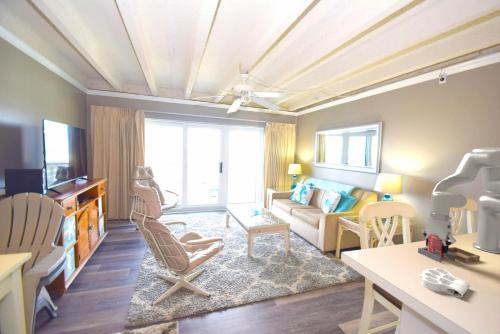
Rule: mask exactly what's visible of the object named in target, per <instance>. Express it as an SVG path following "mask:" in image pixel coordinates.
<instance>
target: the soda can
mask: <svg viewBox="0 0 500 334" xmlns="http://www.w3.org/2000/svg"><path fill="white" fill-rule="evenodd" d="M445 241H446V240H445ZM442 245H444V244H443V242H442V240H441V239H440V238H439V237H438V236H437V235H434V234H431V235H429V239H428V252H430V253H433V254H435V255H437V256H440V257H442V258H441V259H444V258H445V253H442Z"/></svg>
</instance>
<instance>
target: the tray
mask: <svg viewBox="0 0 500 334" xmlns="http://www.w3.org/2000/svg"><path fill="white" fill-rule="evenodd" d="M448 253H451V254H453V255H456V256H455V260H454V261H458V262H461V263H463V264H466V263H474V262H480V260H481V259H480V258H481V256H480V255H479V254H476V253H472V252H471V251H467V250H465V249H461V248H459V247H456V246H449V247H448Z"/></svg>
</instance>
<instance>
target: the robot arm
mask: <svg viewBox="0 0 500 334" xmlns="http://www.w3.org/2000/svg"><path fill="white" fill-rule="evenodd" d="M480 170H481V188H482V191H483V192H485V193H490V194H482V195H481V196H479V197H478V198H477V206H478V219H477V232H476V239H475V240H476V241H475V242H471V243H472V244H471V245H472V247H473V248H476V249H477V250H480V251H483V252H486V253H487V252H488V253H494V254H499V255H500V147H497V146H496V147H492V146H491V147H485V146H484V147H476V148H473V149H472V150H471V151H469V152H466V153H465V154H463V156H462V158H461V160H460V162H459V163H458V165H457V167H456V168H455V170H454V172H453V173H452V174H451V175H449V176H447V177H445V178H444V179H441V180H440V181H439V182H438V183H437V184H436V185H435V187H434V189H433V191H432V193H431V195H430V196H431V198H430V199H431V201H430V209H429V217H428V218H427V221H426V225H425V227H423V228H421V229H420V230H421V232H422V235H423V236H424V239H425V247H428V239H429V235H431V234H434V235H437V236H438V237H439V238H440V239H441V240H442V242H443V244H444V245H442V253H447V252H448V247H451V245H453V244H455V243H457V240H456V239H455V238H454V236H453V232H452V231H453V229H452V227H453V226H452V222H451V220H452V218H453V217H451V216H450V209H451V208H454V209H461V208H463V207H465V206H466V205H467V202H468V199H467V197H466V196H465V195H463V194H461V193H456V192H451V191H447V190H448V189H451V188H453V187H455V186H459V185H465V184H469V183H472V182H474V181H475V179H476V178H477V175H478V174H479V172H480ZM492 194H493V195H492ZM445 240H446V241H445Z"/></svg>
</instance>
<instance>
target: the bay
mask: <svg viewBox="0 0 500 334" xmlns="http://www.w3.org/2000/svg"><path fill="white" fill-rule="evenodd" d="M417 249H418V250H417V253H418V254H420V255H422V254H423V255H422V256H424V255H425V257H427V258H429V259H431V260H433V261H436V262H437V263H441V262H442V259H443V258H442V257H440V256H437V255H435V254H433V253H430V252H428V247H427V246H425V247H424V246H423V247H418V248H417ZM455 256H456V255H453V254H451V253H448V252H447V253H445V256H444V258H448V259H450V260H451V261H456V260H455Z"/></svg>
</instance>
